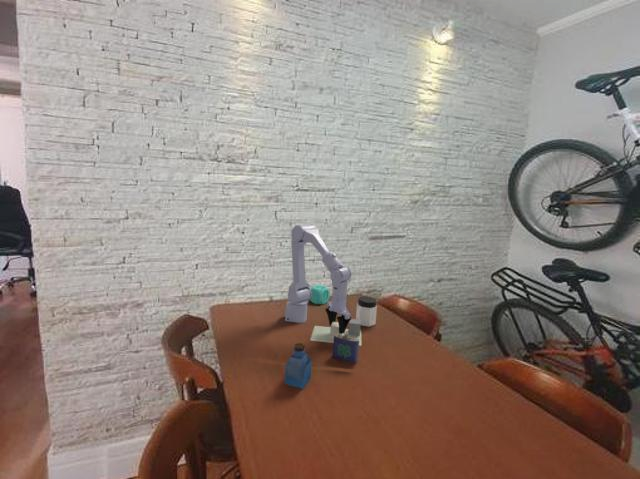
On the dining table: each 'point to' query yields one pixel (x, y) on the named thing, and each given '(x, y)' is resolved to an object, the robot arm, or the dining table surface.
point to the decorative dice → (319, 294)
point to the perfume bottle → (298, 367)
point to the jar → (366, 310)
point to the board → (328, 335)
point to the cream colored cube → (334, 329)
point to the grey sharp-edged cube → (354, 327)
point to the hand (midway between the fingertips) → (336, 329)
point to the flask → (345, 348)
